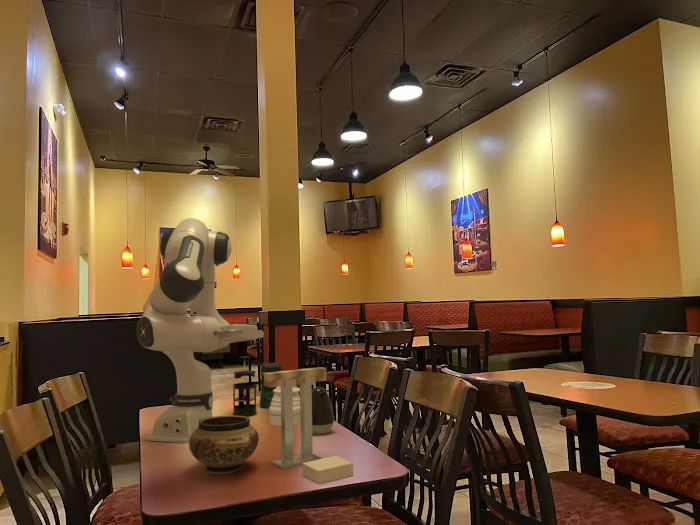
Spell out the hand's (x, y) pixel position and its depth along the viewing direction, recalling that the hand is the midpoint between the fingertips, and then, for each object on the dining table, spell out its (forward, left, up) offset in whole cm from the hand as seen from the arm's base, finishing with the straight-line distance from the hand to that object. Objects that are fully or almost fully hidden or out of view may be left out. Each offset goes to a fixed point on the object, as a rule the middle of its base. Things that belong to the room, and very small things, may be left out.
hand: (251, 335), depth 139 cm
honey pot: (-3, +56, -35) cm, 66 cm away
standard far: (+13, +9, -35) cm, 38 cm away
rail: (+11, +7, -14) cm, 19 cm away
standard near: (+8, +5, -35) cm, 36 cm away
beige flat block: (+21, -4, -35) cm, 41 cm away
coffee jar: (-16, +85, -35) cm, 94 cm away
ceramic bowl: (-8, 0, -35) cm, 36 cm away
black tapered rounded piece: (+12, +39, -35) cm, 54 cm away
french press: (-23, +69, -35) cm, 81 cm away
